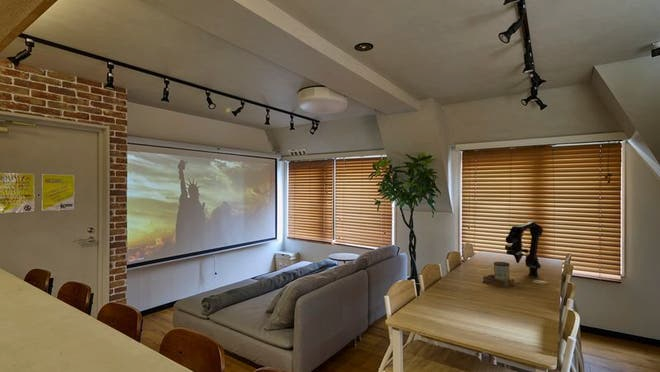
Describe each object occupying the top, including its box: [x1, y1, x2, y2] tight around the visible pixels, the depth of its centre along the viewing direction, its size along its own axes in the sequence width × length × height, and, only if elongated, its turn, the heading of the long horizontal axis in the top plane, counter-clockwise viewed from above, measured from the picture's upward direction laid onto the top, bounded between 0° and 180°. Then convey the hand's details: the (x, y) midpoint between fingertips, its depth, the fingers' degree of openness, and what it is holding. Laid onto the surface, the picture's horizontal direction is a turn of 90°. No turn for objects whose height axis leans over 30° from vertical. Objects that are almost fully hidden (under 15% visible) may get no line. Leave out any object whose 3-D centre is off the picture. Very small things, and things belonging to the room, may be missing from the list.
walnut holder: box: [482, 273, 515, 288], centre depth 235 cm, size 11×16×4 cm
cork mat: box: [531, 279, 549, 286], centre depth 234 cm, size 10×10×1 cm
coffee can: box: [493, 261, 511, 281], centre depth 237 cm, size 10×10×14 cm
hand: (517, 262), depth 246 cm, fingers closed
